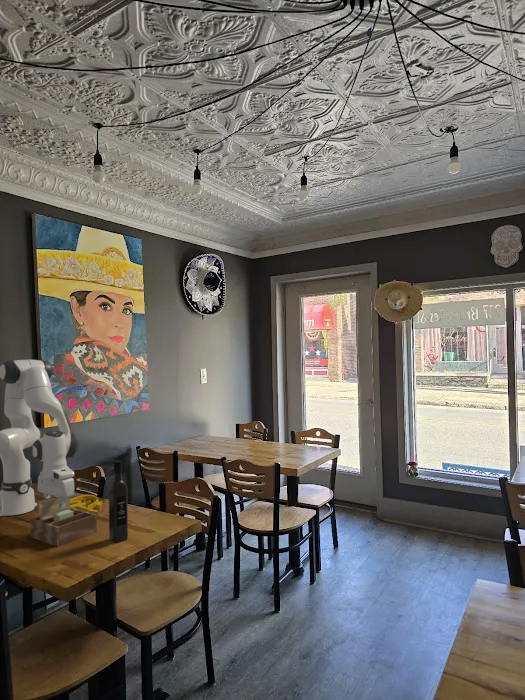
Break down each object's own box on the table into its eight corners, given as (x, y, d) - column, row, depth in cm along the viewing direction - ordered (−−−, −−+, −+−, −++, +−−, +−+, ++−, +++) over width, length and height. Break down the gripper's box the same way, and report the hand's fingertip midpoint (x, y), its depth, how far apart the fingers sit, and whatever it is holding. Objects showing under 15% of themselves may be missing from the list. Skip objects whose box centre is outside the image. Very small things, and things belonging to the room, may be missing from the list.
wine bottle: (128, 539, 175) (128, 461, 176) (114, 543, 172) (114, 463, 172) (122, 535, 180) (121, 459, 180) (108, 539, 176) (107, 461, 176)
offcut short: (53, 521, 181) (53, 513, 181) (67, 516, 186) (67, 509, 186) (59, 523, 178) (59, 515, 178) (73, 518, 183) (73, 511, 183)
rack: (30, 537, 179) (30, 519, 180) (69, 523, 194) (69, 507, 194) (57, 546, 169) (57, 527, 170) (96, 531, 184) (96, 514, 184)
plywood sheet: (39, 536, 181) (39, 500, 181) (67, 526, 191) (66, 492, 191) (43, 537, 179) (42, 501, 179) (70, 527, 189) (70, 493, 189)
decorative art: (88, 493, 229) (121, 505, 210) (88, 499, 229) (121, 511, 210) (46, 504, 214) (78, 517, 194) (46, 510, 213) (78, 524, 194)
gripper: (33, 470, 188) (33, 503, 188) (62, 476, 177) (63, 512, 177) (47, 467, 194) (48, 499, 193) (77, 472, 182) (77, 507, 182)
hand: (55, 505), depth 185 cm, fingers open, 8 cm apart
